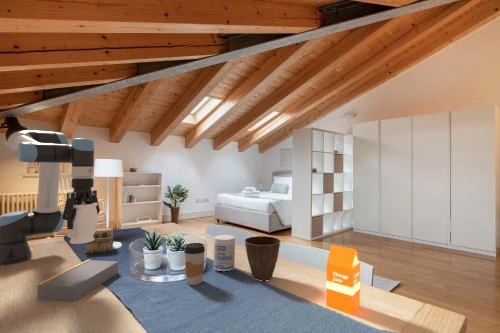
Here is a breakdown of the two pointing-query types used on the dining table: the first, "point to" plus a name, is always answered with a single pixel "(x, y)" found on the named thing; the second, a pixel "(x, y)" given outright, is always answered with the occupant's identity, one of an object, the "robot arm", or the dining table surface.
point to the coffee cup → (194, 263)
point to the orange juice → (343, 279)
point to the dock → (77, 280)
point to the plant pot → (262, 256)
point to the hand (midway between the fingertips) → (82, 233)
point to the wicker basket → (100, 241)
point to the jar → (85, 223)
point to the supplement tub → (224, 252)
